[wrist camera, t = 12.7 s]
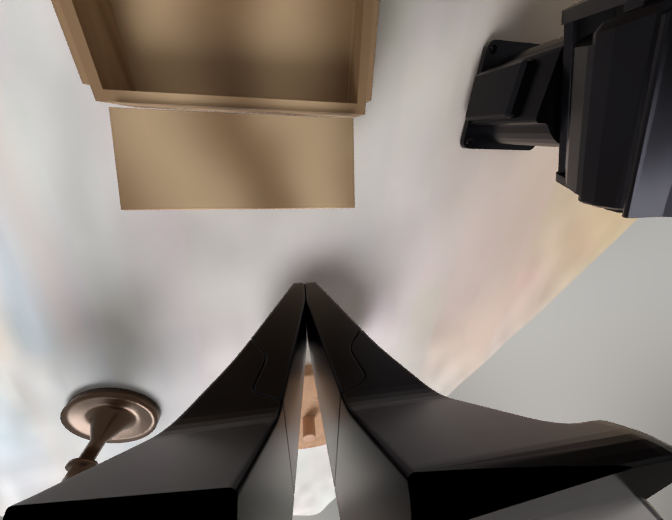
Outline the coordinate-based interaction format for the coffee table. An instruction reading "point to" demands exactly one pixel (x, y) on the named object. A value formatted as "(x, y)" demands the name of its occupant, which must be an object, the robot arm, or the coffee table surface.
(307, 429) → the lidded jar
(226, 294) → the coffee table surface
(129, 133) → the flap
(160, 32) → the carton
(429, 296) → the coffee table surface
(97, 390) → the candlestick
